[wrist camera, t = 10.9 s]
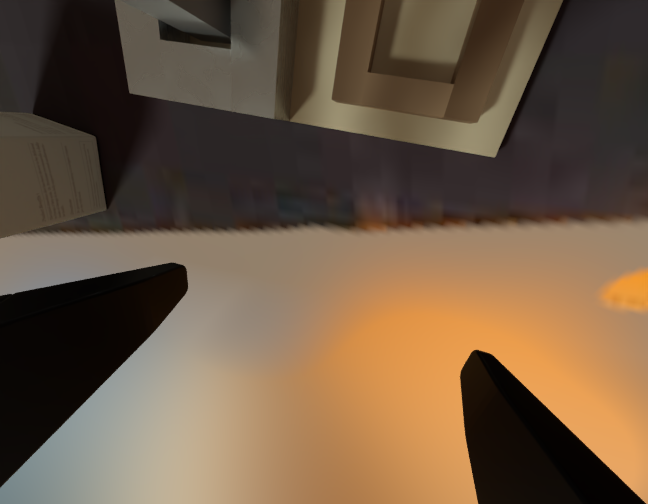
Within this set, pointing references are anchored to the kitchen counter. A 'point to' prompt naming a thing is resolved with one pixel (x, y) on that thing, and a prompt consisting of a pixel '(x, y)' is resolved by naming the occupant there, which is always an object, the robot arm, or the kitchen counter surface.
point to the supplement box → (46, 173)
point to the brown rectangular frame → (414, 94)
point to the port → (216, 59)
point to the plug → (192, 16)
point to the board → (412, 69)
